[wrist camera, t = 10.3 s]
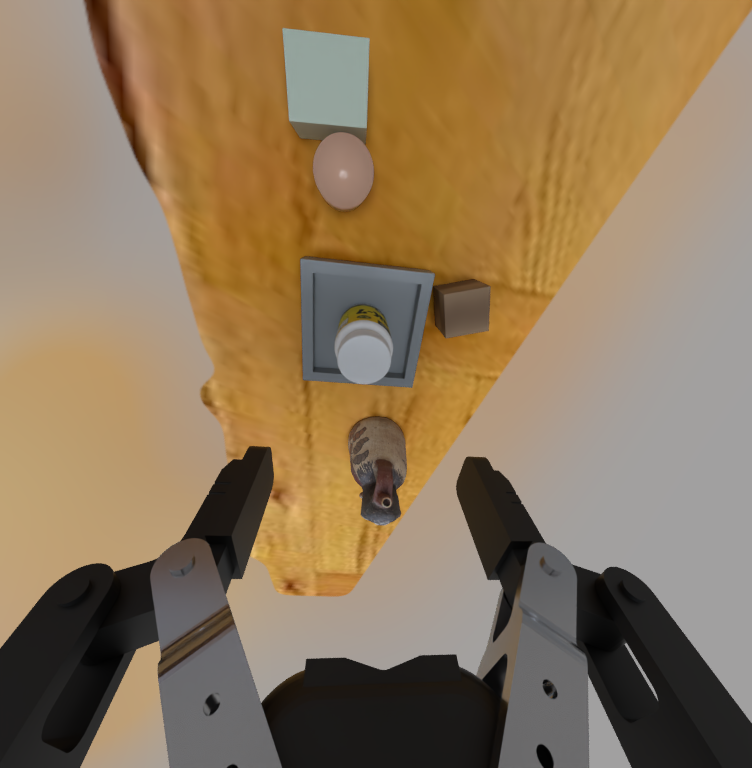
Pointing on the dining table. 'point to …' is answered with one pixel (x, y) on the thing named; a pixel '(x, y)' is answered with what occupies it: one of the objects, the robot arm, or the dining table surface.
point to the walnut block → (462, 307)
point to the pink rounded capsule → (343, 171)
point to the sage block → (326, 83)
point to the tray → (362, 286)
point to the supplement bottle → (363, 344)
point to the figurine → (378, 467)
